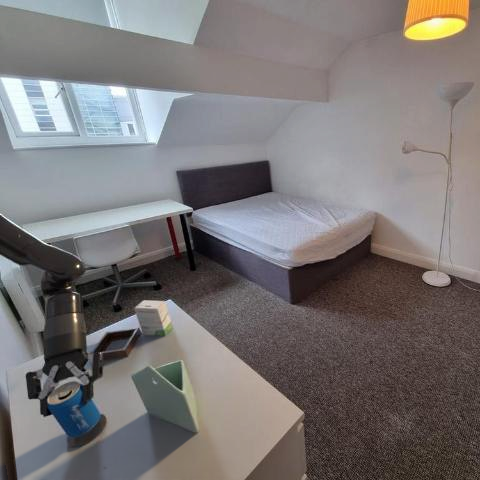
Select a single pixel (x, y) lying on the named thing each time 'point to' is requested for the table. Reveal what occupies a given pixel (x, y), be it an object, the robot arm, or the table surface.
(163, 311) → the ink box
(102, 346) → the tray
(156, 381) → the planter
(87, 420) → the beverage can
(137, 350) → the table surface
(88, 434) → the coaster
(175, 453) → the table surface
